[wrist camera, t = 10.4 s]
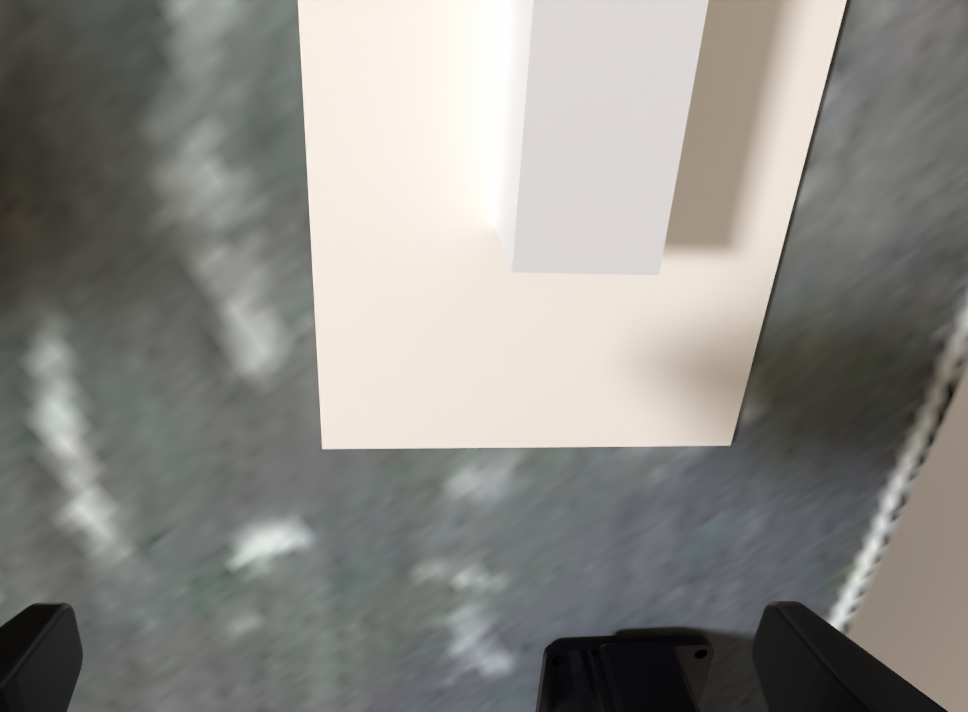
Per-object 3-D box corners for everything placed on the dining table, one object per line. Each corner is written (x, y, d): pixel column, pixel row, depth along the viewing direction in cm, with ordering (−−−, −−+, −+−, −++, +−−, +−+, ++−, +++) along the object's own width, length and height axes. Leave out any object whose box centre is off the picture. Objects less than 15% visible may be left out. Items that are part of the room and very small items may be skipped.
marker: (618, 231, 19) (659, 275, 16) (494, 228, 19) (511, 272, 16) (698, -301, 14) (778, -383, 11) (530, -322, 14) (566, -412, 11)
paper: (728, 442, 23) (730, 445, 23) (323, 445, 21) (322, 448, 21) (911, -269, 15) (917, -273, 15) (280, -345, 13) (279, -350, 13)
